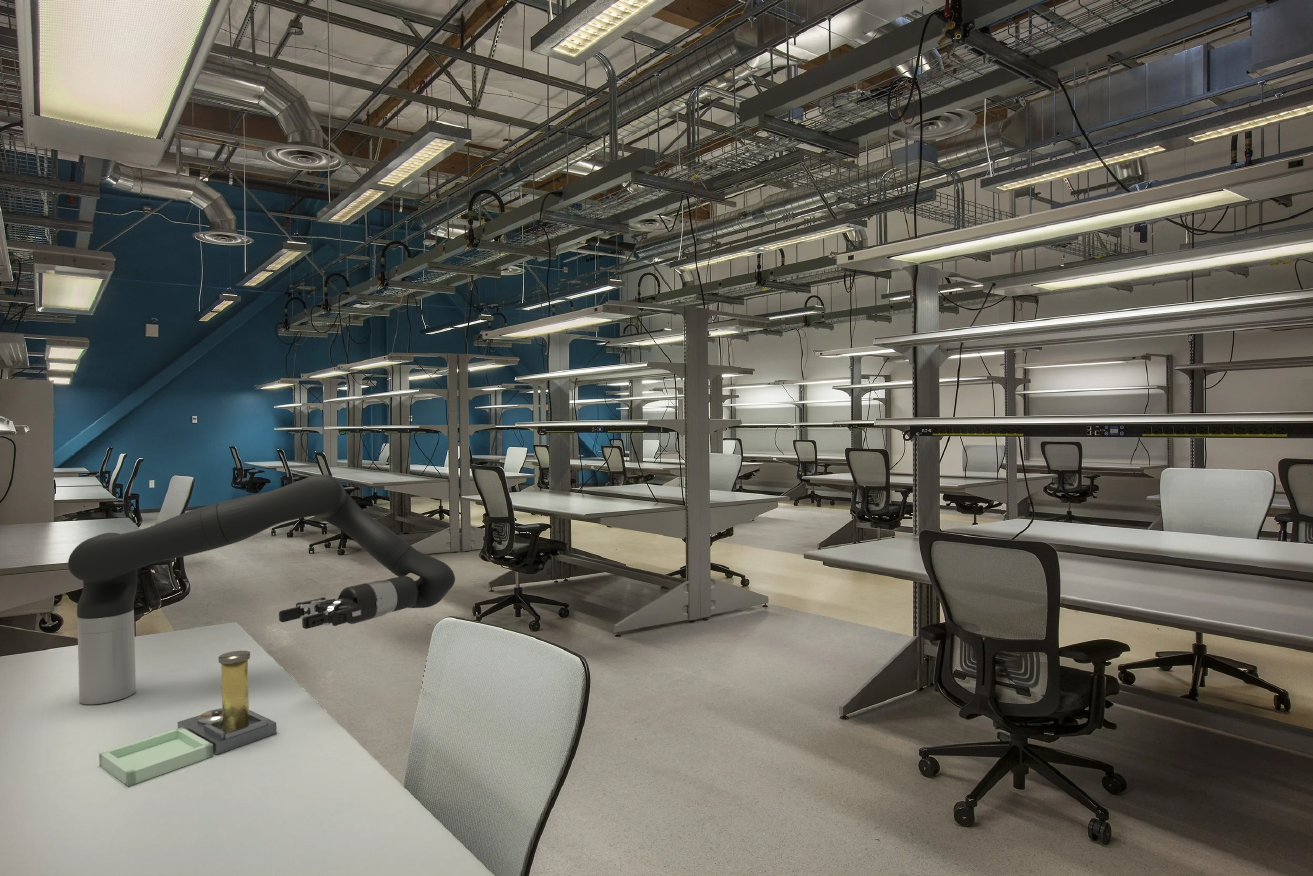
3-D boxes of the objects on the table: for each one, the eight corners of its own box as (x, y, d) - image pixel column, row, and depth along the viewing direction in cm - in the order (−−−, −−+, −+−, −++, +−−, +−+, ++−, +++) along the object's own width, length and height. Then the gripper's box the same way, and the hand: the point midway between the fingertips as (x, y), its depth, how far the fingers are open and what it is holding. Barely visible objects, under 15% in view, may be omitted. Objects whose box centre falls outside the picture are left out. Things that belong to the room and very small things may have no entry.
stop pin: (215, 728, 126) (213, 656, 125) (243, 719, 130) (242, 649, 129) (227, 735, 123) (226, 661, 123) (256, 725, 127) (255, 653, 127)
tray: (99, 765, 117) (99, 753, 117) (181, 738, 126) (181, 727, 126) (128, 786, 110) (127, 773, 110) (212, 756, 120) (212, 744, 120)
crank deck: (177, 733, 129) (177, 716, 129) (236, 714, 137) (236, 698, 137) (216, 755, 120) (215, 736, 120) (276, 733, 128) (276, 716, 128)
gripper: (348, 579, 153) (271, 596, 140) (388, 587, 145) (310, 605, 132) (349, 614, 153) (273, 634, 140) (389, 623, 145) (312, 645, 132)
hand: (291, 620), depth 136 cm, fingers open, 8 cm apart
